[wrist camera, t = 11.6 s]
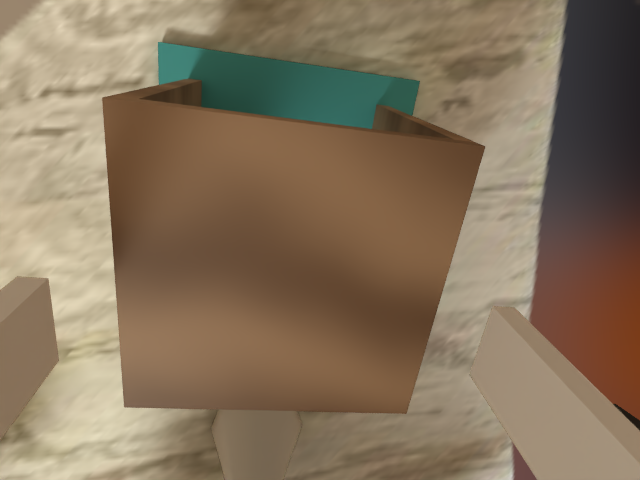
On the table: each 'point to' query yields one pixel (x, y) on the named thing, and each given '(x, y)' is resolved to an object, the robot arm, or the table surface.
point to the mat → (285, 86)
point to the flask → (255, 442)
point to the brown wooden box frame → (277, 252)
